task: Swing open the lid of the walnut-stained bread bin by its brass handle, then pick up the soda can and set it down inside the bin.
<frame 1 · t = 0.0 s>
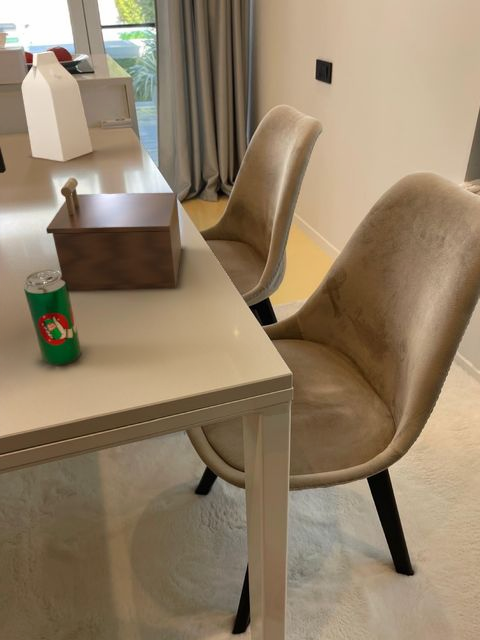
soda can: (63, 357, 76), on the table
milk: (63, 155, 161), on the table
bin lid: (114, 197, 91), point 13 cm above the table, hinge at 0.0°
bread bin: (127, 268, 99), on the table
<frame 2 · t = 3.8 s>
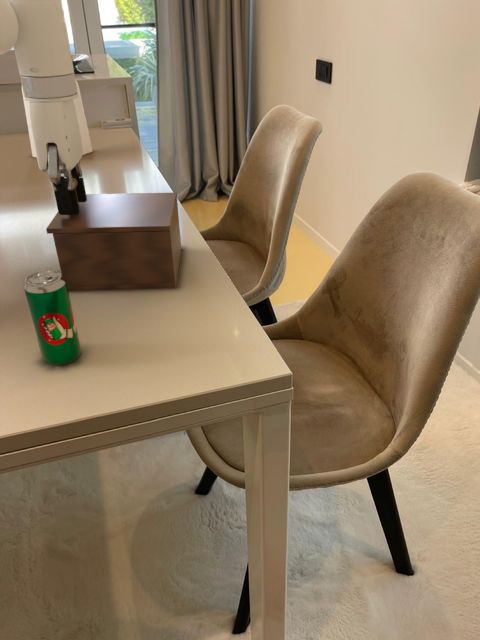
hand: (73, 206, 92), 11 cm above the table, tool pointing down, fingers closed on bin lid, 5 cm apart
bin lid: (114, 197, 91), point 13 cm above the table, hinge at 0.0°, touching gripper
everything else where it was.
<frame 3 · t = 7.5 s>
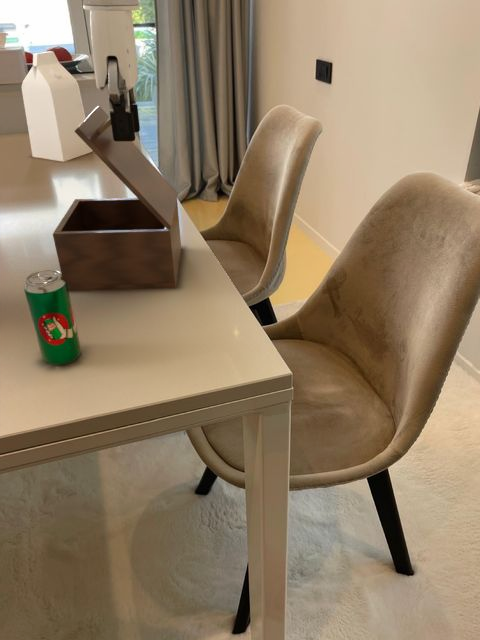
hand: (127, 134, 86), 23 cm above the table, tool pointing down, fingers closed on bin lid, 5 cm apart
bin lid: (143, 156, 88), point 19 cm above the table, hinge at 51.9°, touching gripper
everything else where it was.
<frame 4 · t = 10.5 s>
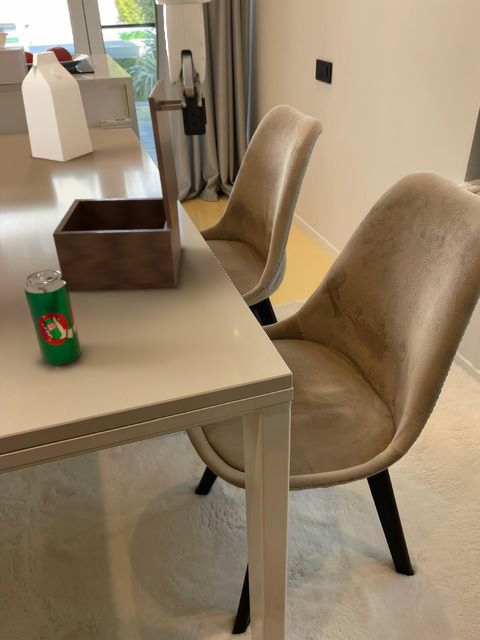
hand: (196, 128, 86), 23 cm above the table, tool pointing down, fingers closed on bin lid, 5 cm apart
bin lid: (180, 151, 88), point 20 cm above the table, hinge at 87.5°, touching gripper
everything else where it was.
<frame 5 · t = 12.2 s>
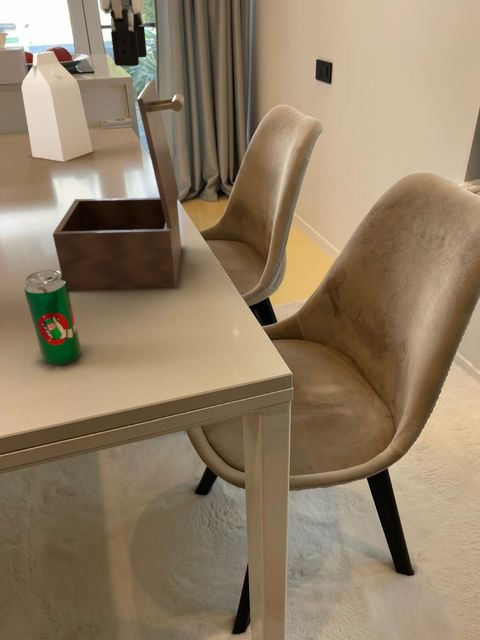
hand: (131, 61, 80), 33 cm above the table, tool pointing down, fingers open, 9 cm apart
bin lid: (175, 151, 88), point 20 cm above the table, hinge at 82.9°
everything else where it was.
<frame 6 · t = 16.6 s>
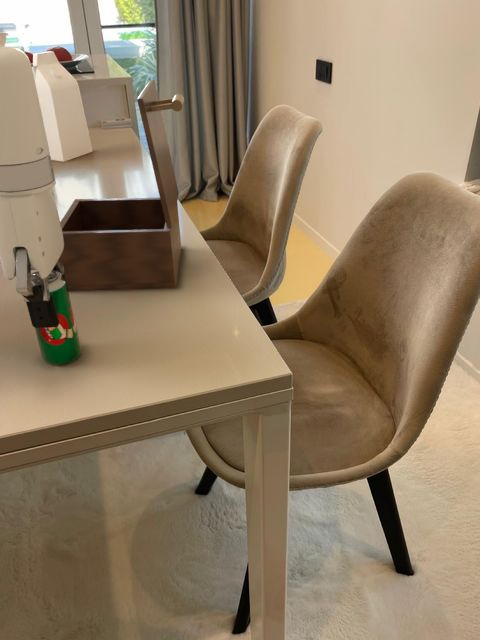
hand: (52, 313, 72), 7 cm above the table, tool pointing down, fingers closed on soda can, 5 cm apart
soda can: (63, 357, 76), on the table, touching gripper
everything else where it was.
when the fingers open (8 cm above the table, at t = 25.8 s): soda can stays where it is, resting on bread bin.
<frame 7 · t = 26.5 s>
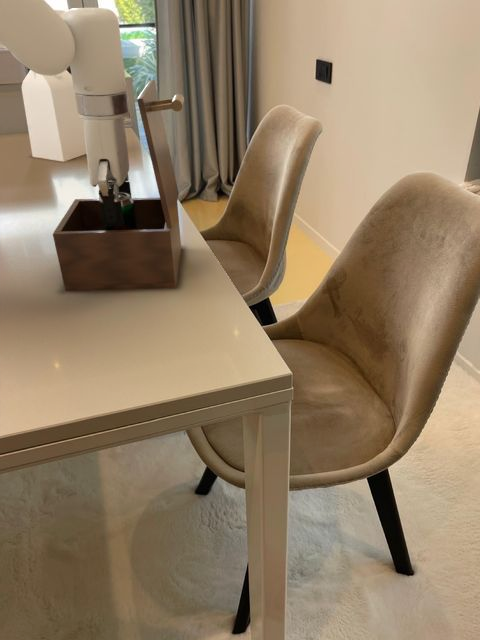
hand: (118, 215, 93), 10 cm above the table, tool pointing down, fingers open, 9 cm apart
soda can: (127, 264, 98), point 1 cm above the table, touching bread bin
everything else where it was.
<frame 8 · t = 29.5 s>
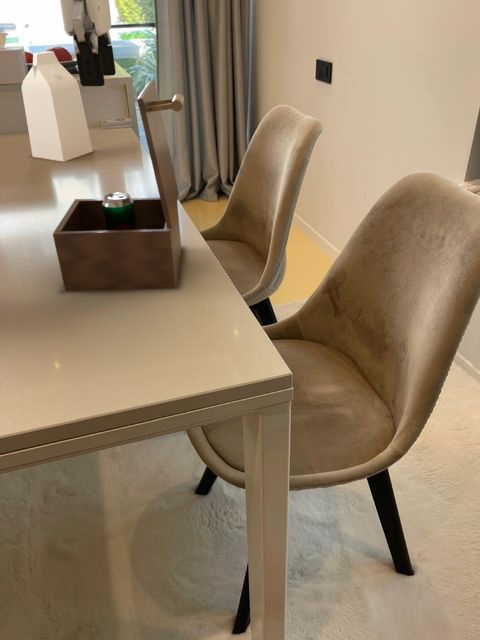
hand: (99, 80, 82), 30 cm above the table, tool pointing down, fingers open, 9 cm apart
nothing on the table moved.
at the end: bin lid at +83° (first picture: +0°); soda can inside the target area in the bread bin (0.0 cm from its centre), point 0.8 cm above the bread bin's base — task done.
